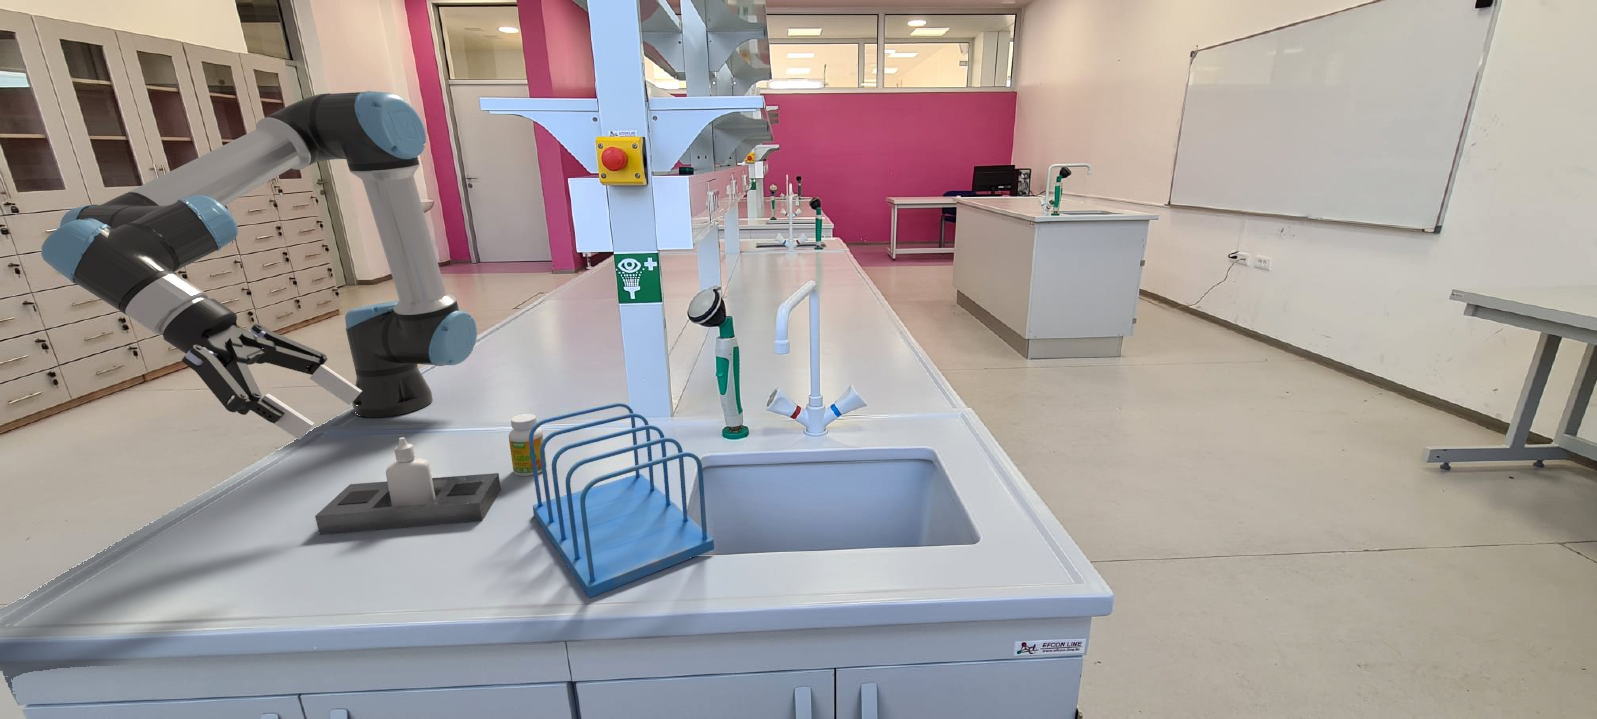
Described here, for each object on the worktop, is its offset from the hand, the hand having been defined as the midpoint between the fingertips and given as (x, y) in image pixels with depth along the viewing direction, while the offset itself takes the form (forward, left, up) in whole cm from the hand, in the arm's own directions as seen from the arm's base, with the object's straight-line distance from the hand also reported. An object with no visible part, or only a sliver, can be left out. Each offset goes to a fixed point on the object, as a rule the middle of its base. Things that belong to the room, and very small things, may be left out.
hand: (333, 413), depth 93 cm
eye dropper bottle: (0, +8, -17) cm, 19 cm away
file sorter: (+12, +40, -17) cm, 45 cm away
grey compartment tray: (0, +8, -16) cm, 19 cm away
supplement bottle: (-12, +22, -17) cm, 30 cm away
